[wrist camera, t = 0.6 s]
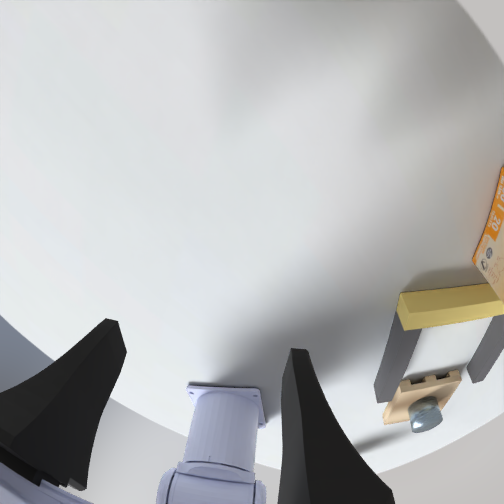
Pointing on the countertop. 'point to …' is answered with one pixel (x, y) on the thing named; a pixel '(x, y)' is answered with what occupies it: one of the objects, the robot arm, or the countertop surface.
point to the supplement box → (493, 244)
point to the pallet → (420, 395)
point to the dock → (437, 314)
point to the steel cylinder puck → (424, 414)
